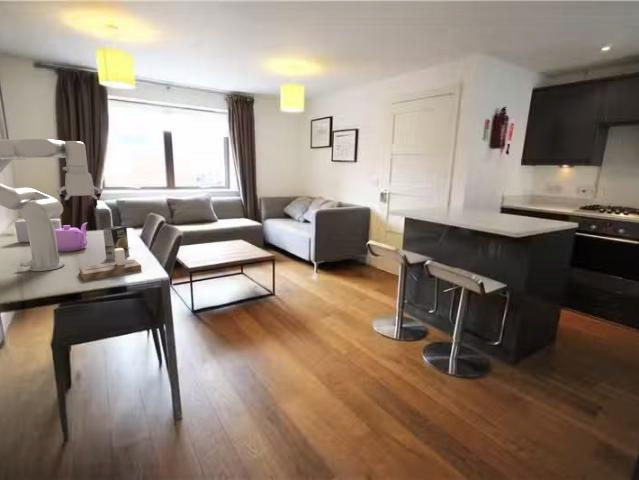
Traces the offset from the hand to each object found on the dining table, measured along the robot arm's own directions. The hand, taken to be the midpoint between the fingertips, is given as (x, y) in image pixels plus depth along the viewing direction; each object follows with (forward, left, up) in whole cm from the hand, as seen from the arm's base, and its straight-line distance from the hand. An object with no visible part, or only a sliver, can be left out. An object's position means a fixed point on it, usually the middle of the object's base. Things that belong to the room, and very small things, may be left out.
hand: (82, 208), depth 151 cm
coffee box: (+14, +10, -28) cm, 33 cm away
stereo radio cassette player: (-13, +77, -29) cm, 83 cm away
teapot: (-1, +45, -28) cm, 53 cm away
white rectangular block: (+10, -15, -25) cm, 31 cm away
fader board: (+6, -15, -28) cm, 32 cm away
